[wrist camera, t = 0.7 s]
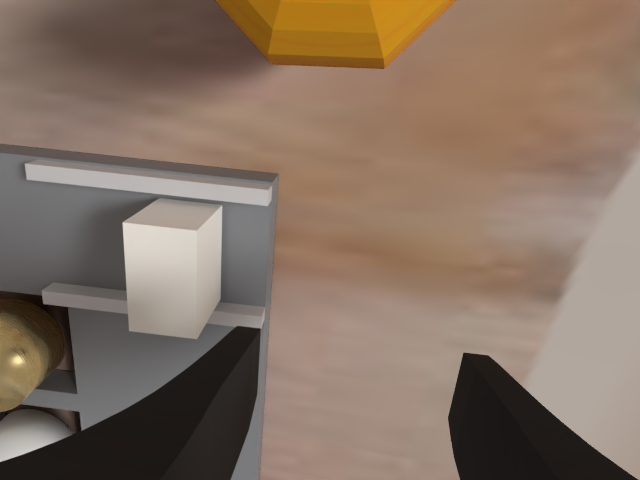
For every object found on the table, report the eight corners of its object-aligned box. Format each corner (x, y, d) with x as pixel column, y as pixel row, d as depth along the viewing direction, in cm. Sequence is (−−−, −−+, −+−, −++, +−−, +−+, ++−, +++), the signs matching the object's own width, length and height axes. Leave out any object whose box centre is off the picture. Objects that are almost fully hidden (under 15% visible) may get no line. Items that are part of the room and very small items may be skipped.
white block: (220, 299, 19) (197, 339, 16) (162, 292, 19) (128, 330, 16) (222, 204, 17) (196, 230, 15) (159, 198, 17) (122, 222, 15)
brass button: (69, 380, 22) (34, 417, 19) (-14, 369, 22) (-58, 405, 19) (60, 304, 20) (22, 335, 18) (-28, 293, 20) (-78, 322, 18)
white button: (81, 476, 24) (50, 521, 21) (5, 466, 24) (-34, 510, 21) (73, 414, 22) (40, 454, 20) (-7, 404, 22) (-49, 442, 20)
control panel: (257, 514, 25) (248, 555, 23) (-26, 476, 26) (-60, 513, 24) (278, 173, 19) (268, 187, 17) (-102, 132, 19) (-161, 140, 17)
